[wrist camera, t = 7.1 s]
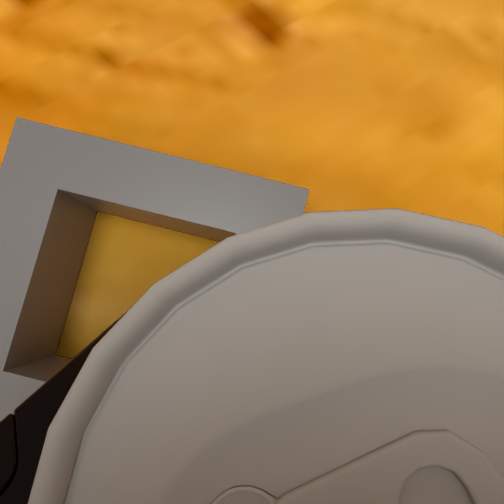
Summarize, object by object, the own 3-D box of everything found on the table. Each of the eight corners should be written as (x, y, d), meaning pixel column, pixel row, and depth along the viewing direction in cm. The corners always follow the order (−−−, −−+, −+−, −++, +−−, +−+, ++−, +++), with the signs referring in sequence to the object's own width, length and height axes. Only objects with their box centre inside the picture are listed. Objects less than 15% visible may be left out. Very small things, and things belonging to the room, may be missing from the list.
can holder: (295, 211, 21) (309, 189, 17) (237, 454, 20) (235, 499, 16) (64, 154, 22) (16, 117, 17) (-9, 392, 20) (-79, 419, 16)
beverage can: (194, 316, 15) (-107, 365, 3) (320, 257, 15) (533, 75, 3) (252, 449, 14) (175, 1207, 2) (384, 388, 14) (965, 810, 2)
